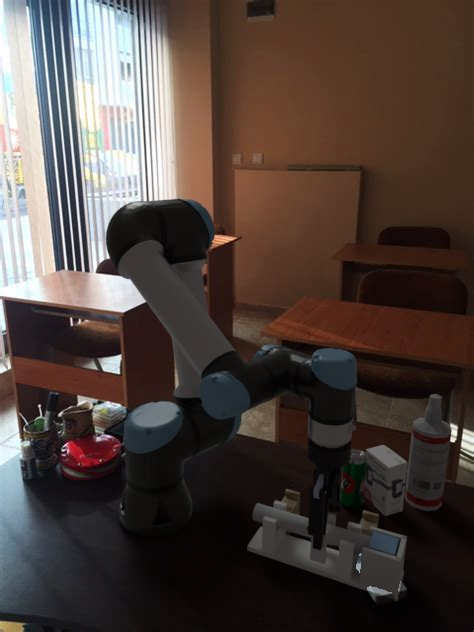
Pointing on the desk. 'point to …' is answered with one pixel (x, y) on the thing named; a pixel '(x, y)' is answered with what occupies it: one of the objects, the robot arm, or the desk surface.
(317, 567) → the clip rail
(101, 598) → the desk surface
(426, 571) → the desk surface
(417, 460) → the white nozzle bottle
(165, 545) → the desk surface
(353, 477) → the soda can
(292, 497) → the clamp blocks
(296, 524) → the grey rod with block
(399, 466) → the ink box
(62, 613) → the desk surface
